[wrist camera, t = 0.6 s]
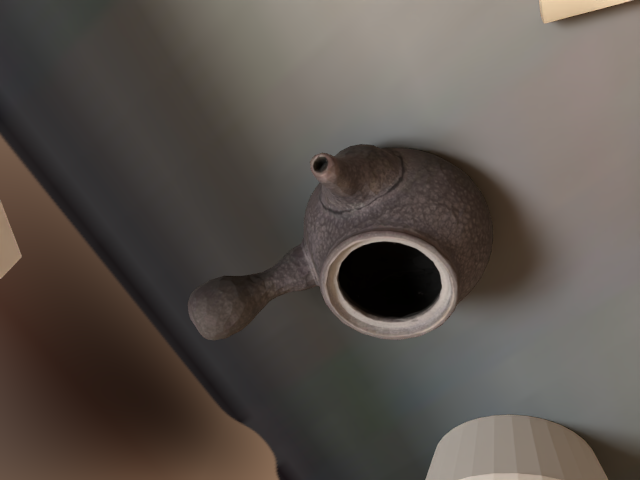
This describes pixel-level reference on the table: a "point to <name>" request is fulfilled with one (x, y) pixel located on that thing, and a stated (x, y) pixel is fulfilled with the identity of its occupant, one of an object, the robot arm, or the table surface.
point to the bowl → (513, 452)
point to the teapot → (370, 247)
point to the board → (571, 7)
